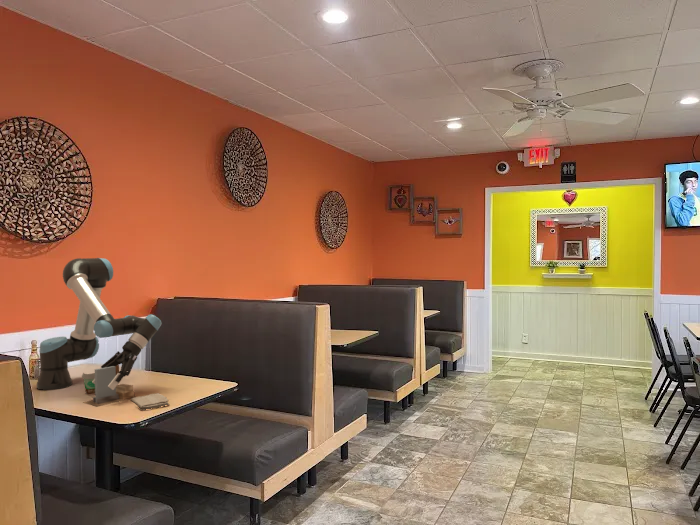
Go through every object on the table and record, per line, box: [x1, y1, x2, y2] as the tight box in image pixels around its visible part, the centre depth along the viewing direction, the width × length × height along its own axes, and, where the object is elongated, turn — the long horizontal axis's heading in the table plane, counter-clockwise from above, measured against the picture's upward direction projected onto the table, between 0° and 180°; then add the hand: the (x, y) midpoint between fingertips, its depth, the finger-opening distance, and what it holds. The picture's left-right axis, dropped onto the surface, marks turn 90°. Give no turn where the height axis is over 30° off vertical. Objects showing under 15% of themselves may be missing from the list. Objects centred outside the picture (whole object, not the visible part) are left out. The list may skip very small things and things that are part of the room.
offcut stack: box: [116, 383, 135, 399], centre depth 230 cm, size 5×8×5 cm
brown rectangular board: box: [82, 394, 137, 408], centre depth 225 cm, size 18×12×3 cm, turn 142°
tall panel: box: [94, 366, 116, 403], centre depth 224 cm, size 8×2×14 cm, turn 141°
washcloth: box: [130, 392, 170, 411], centre depth 221 cm, size 12×18×3 cm, turn 38°
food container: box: [81, 372, 95, 395], centre depth 238 cm, size 12×6×10 cm, turn 105°
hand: (102, 386), depth 222 cm, fingers open, 13 cm apart
